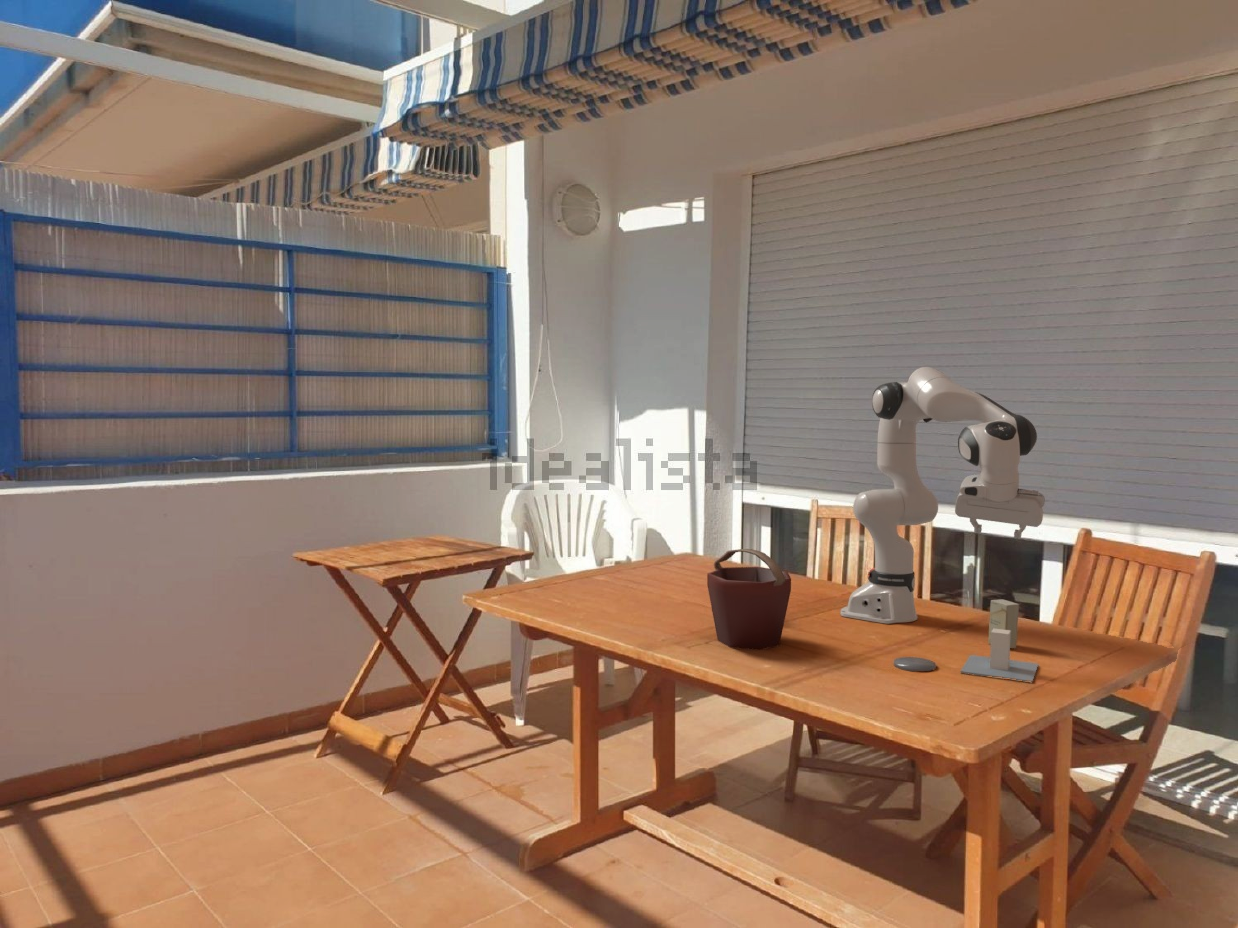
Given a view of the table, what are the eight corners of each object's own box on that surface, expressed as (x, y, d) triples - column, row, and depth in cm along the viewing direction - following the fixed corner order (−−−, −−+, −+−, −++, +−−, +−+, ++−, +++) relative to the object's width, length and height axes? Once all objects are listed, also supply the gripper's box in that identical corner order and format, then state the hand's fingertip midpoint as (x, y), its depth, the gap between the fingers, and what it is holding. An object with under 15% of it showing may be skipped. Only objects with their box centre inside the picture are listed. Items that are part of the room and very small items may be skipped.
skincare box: (987, 644, 253) (989, 599, 252) (1000, 642, 255) (1002, 598, 254) (1004, 650, 247) (1006, 604, 246) (1017, 648, 249) (1019, 603, 248)
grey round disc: (889, 667, 231) (889, 664, 231) (898, 657, 240) (898, 654, 240) (931, 674, 226) (931, 670, 226) (939, 663, 235) (939, 660, 235)
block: (989, 668, 229) (991, 631, 228) (992, 663, 233) (993, 628, 232) (1007, 670, 227) (1008, 634, 226) (1009, 666, 231) (1010, 630, 230)
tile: (960, 673, 227) (960, 670, 227) (970, 656, 241) (970, 654, 241) (1032, 683, 219) (1032, 680, 219) (1038, 665, 233) (1038, 663, 233)
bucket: (695, 633, 263) (695, 545, 261) (764, 626, 271) (765, 541, 269) (735, 656, 240) (737, 560, 238) (810, 648, 248) (811, 555, 246)
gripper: (1047, 485, 226) (1044, 534, 232) (959, 475, 237) (959, 522, 243) (1042, 498, 221) (1040, 547, 227) (953, 487, 232) (953, 535, 238)
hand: (997, 534), depth 235 cm, fingers open, 8 cm apart
